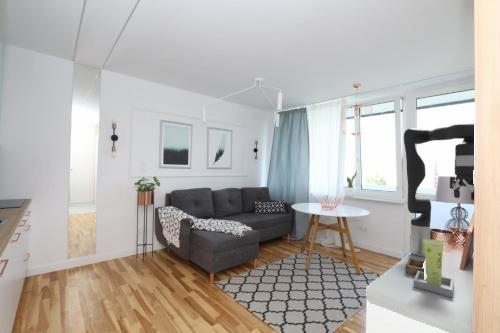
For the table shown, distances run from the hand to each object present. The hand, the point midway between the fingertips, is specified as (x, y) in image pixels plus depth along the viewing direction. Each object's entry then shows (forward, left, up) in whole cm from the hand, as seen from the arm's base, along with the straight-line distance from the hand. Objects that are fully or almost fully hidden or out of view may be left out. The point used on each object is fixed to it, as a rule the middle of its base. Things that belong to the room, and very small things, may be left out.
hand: (465, 198), depth 114 cm
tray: (+11, -26, -36) cm, 45 cm away
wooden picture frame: (-2, -20, -36) cm, 41 cm away
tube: (+11, -25, -36) cm, 45 cm away
